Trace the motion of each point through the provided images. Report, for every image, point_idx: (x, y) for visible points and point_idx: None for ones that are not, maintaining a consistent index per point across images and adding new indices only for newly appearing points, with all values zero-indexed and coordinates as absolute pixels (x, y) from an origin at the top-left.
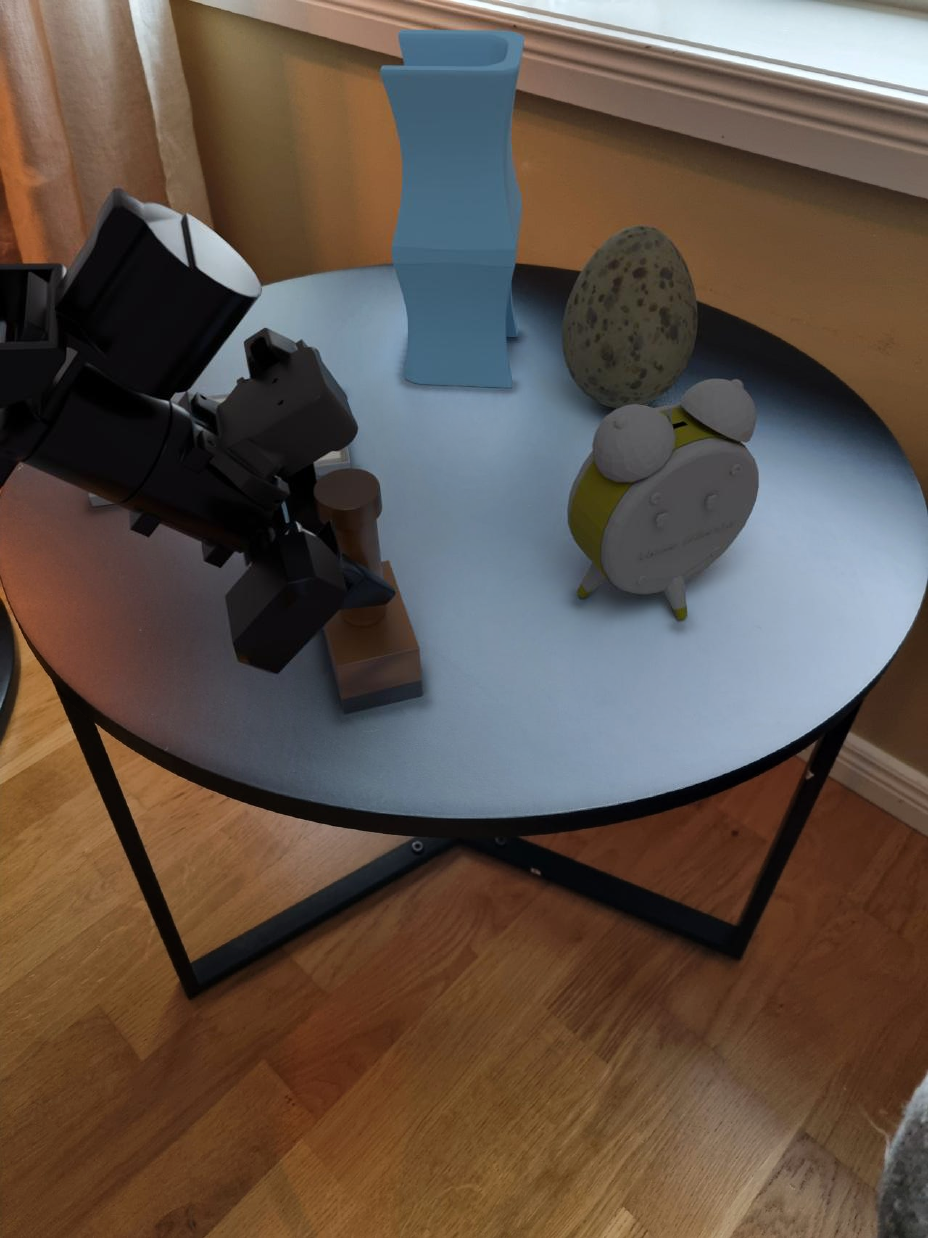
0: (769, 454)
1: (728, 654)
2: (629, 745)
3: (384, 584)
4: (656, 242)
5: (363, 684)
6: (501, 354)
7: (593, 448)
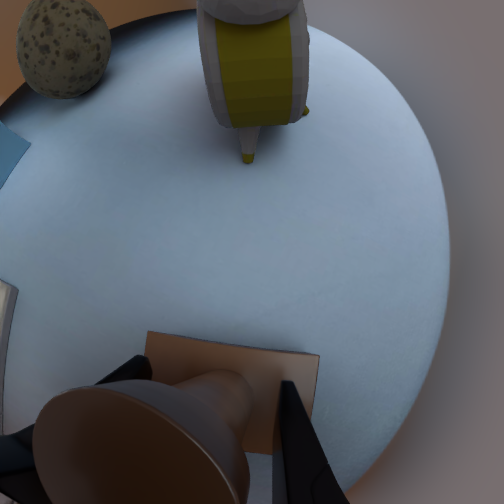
0: (186, 36)
1: (347, 107)
2: (412, 203)
3: (296, 405)
4: None
5: None
6: (11, 135)
7: (229, 4)
